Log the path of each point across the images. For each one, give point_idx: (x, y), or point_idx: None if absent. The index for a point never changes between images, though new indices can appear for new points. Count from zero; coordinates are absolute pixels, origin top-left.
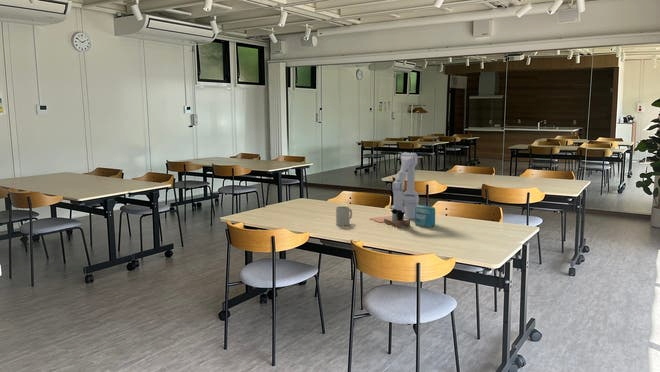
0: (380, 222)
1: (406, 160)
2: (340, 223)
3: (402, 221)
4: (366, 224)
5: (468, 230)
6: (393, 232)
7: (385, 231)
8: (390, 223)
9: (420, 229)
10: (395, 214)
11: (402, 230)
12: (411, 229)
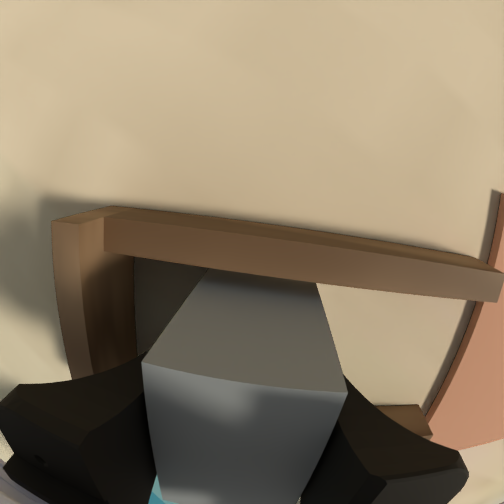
0: (499, 217)
1: None
2: None
3: (67, 330)
4: (489, 24)
5: (2, 459)
6: (2, 73)
7: (62, 10)
8: (297, 233)
9: (9, 353)
10: (214, 411)
11: (7, 194)
12: (15, 299)
